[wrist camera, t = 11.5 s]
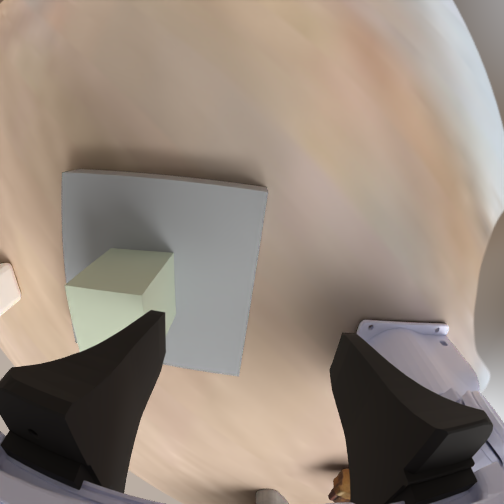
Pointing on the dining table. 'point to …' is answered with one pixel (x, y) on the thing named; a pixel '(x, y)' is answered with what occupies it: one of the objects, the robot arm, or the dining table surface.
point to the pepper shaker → (8, 288)
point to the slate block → (176, 250)
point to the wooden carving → (341, 488)
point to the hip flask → (269, 497)
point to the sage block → (120, 293)
